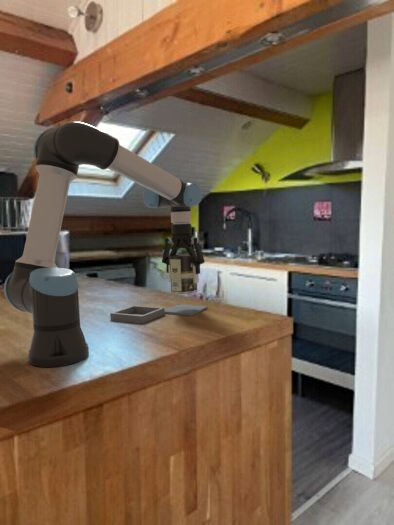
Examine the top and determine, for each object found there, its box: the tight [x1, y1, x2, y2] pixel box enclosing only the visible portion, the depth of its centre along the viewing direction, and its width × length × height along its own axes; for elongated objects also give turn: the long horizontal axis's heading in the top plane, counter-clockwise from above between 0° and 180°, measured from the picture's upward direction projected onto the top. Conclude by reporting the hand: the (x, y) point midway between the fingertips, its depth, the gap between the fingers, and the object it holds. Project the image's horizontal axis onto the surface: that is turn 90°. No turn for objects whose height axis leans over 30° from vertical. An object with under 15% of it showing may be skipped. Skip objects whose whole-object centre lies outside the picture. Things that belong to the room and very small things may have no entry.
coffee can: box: [169, 253, 198, 295], centre depth 162 cm, size 10×10×14 cm
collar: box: [109, 305, 165, 324], centre depth 155 cm, size 14×14×2 cm
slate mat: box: [164, 303, 208, 317], centre depth 163 cm, size 13×13×1 cm
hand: (183, 282), depth 162 cm, fingers closed on coffee can, 10 cm apart
